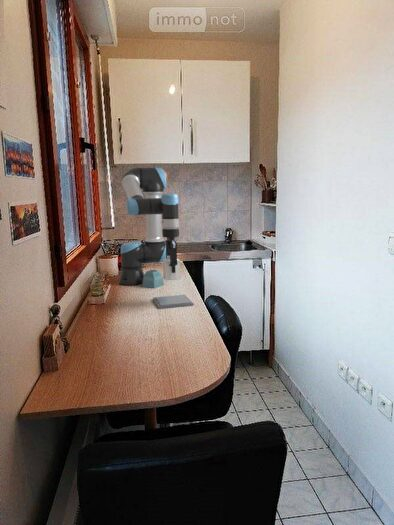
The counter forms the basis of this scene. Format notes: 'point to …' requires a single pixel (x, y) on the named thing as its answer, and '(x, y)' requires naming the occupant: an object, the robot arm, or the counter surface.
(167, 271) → the plug
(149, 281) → the teal faceted dome
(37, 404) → the counter surface
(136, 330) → the counter surface
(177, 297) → the plate
